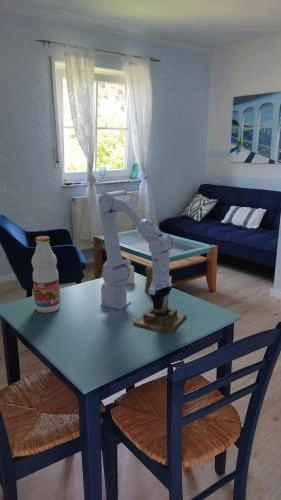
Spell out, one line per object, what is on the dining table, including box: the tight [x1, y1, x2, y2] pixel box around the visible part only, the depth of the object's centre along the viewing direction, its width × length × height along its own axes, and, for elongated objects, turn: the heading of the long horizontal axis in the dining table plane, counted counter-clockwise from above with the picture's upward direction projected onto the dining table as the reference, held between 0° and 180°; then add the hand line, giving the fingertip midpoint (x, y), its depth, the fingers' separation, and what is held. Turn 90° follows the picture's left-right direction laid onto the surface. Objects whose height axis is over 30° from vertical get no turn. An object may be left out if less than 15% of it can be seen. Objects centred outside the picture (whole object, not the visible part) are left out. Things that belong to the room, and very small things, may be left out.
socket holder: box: [133, 306, 187, 335], centre depth 134 cm, size 14×14×4 cm
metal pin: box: [152, 293, 169, 317], centre depth 133 cm, size 4×4×8 cm
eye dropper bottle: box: [125, 256, 135, 285], centre depth 169 cm, size 4×6×12 cm
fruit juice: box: [31, 235, 61, 314], centre depth 142 cm, size 9×9×28 cm
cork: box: [144, 265, 152, 295], centre depth 160 cm, size 6×6×11 cm
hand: (160, 306), depth 133 cm, fingers closed on metal pin, 4 cm apart
